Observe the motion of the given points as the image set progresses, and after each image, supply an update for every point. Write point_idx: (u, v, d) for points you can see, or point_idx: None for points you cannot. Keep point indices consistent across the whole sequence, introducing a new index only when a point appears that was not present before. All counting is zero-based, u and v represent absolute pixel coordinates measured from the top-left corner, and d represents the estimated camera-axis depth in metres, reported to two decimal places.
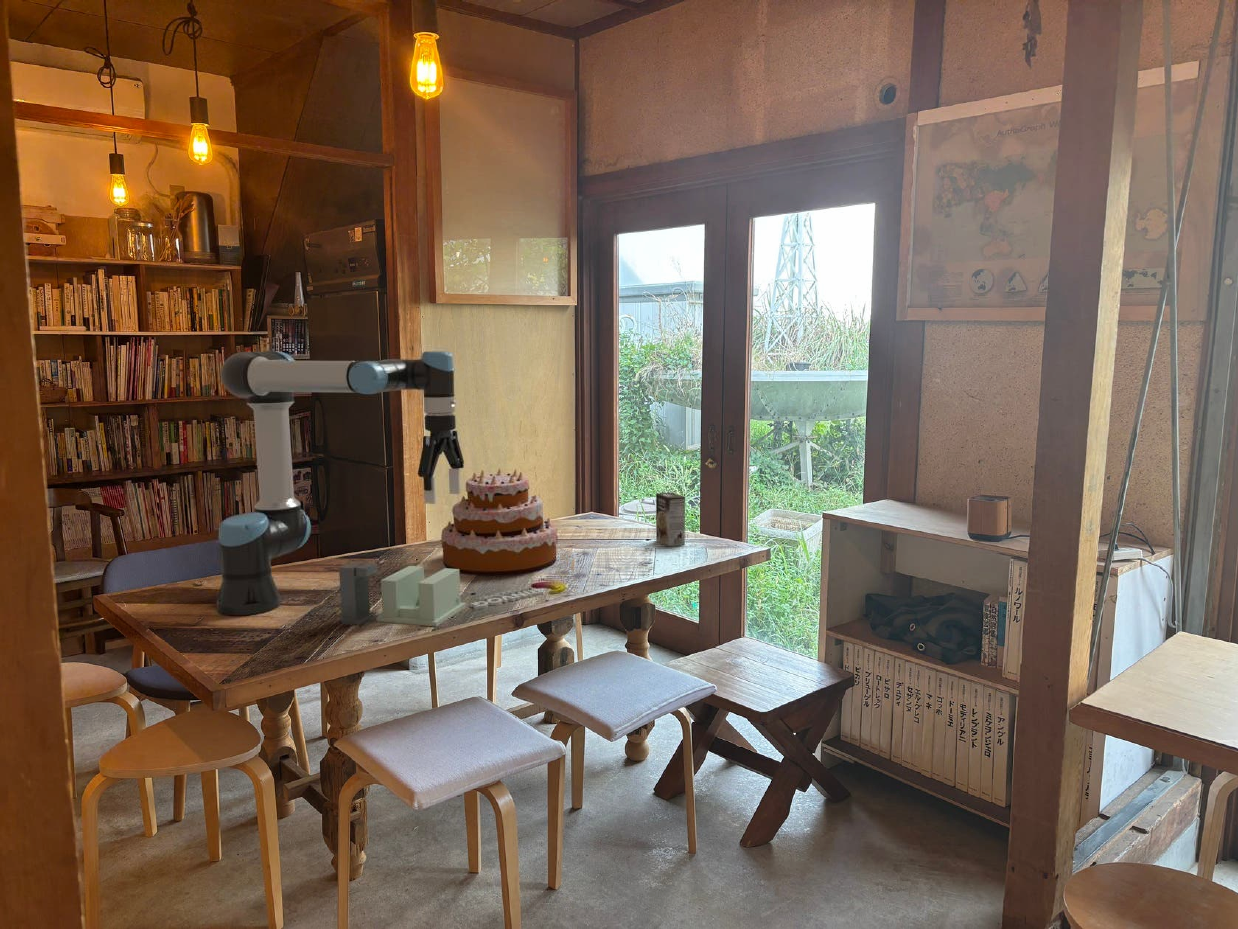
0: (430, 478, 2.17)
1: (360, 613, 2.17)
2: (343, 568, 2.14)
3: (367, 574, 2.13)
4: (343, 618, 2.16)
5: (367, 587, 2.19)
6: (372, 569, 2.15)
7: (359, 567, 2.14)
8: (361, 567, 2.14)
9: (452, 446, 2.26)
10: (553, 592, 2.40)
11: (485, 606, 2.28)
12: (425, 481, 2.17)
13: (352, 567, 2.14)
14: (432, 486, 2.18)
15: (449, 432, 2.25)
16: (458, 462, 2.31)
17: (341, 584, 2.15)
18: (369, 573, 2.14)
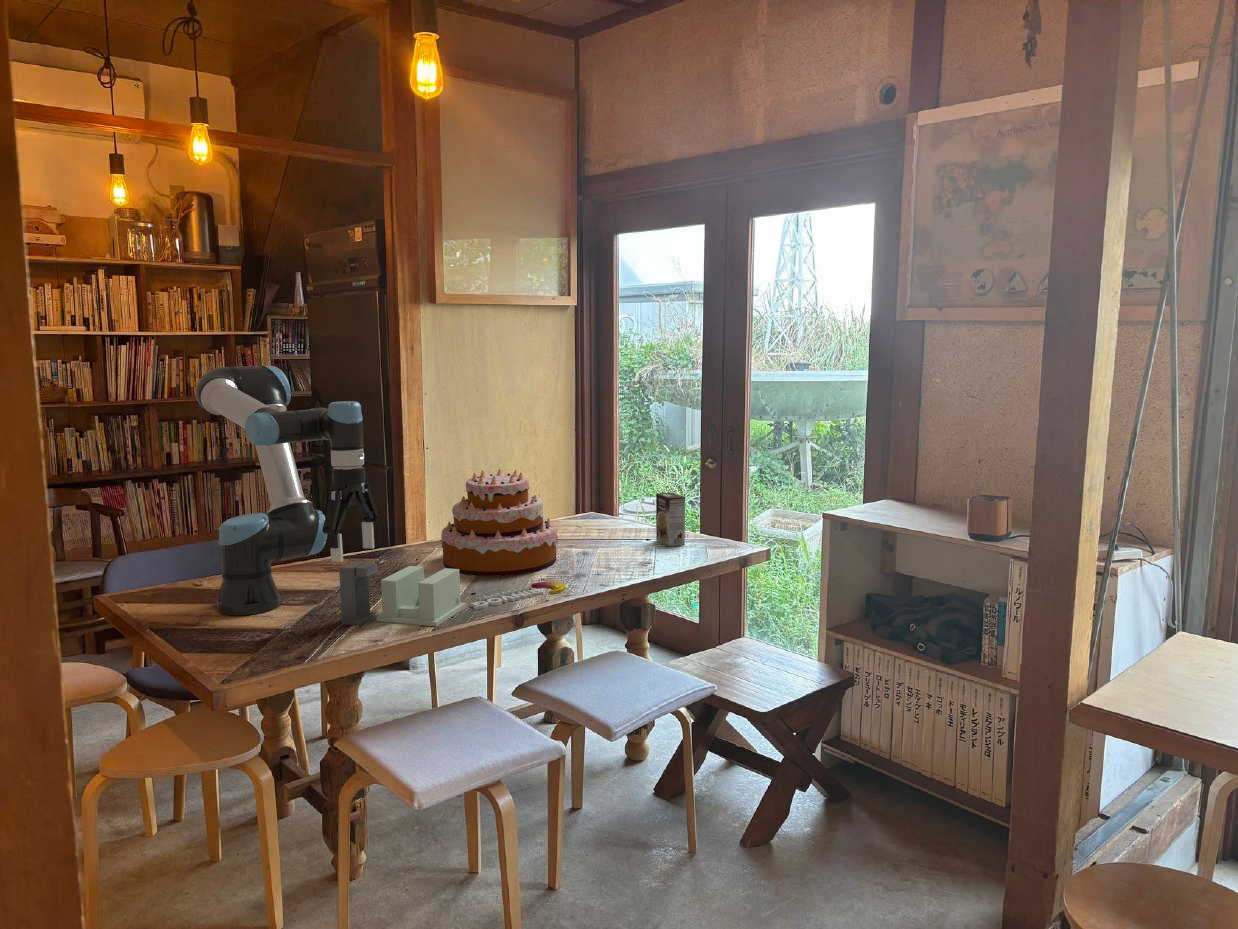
0: (336, 535, 2.08)
1: (360, 613, 2.17)
2: (343, 568, 2.14)
3: (367, 574, 2.14)
4: (343, 618, 2.16)
5: (367, 587, 2.19)
6: (372, 569, 2.15)
7: (359, 567, 2.14)
8: (361, 567, 2.14)
9: (363, 500, 2.17)
10: (553, 592, 2.40)
11: (485, 606, 2.28)
12: (331, 538, 2.07)
13: (352, 567, 2.14)
14: (338, 543, 2.08)
15: (359, 485, 2.16)
16: (371, 515, 2.21)
17: (341, 584, 2.15)
18: (369, 573, 2.14)
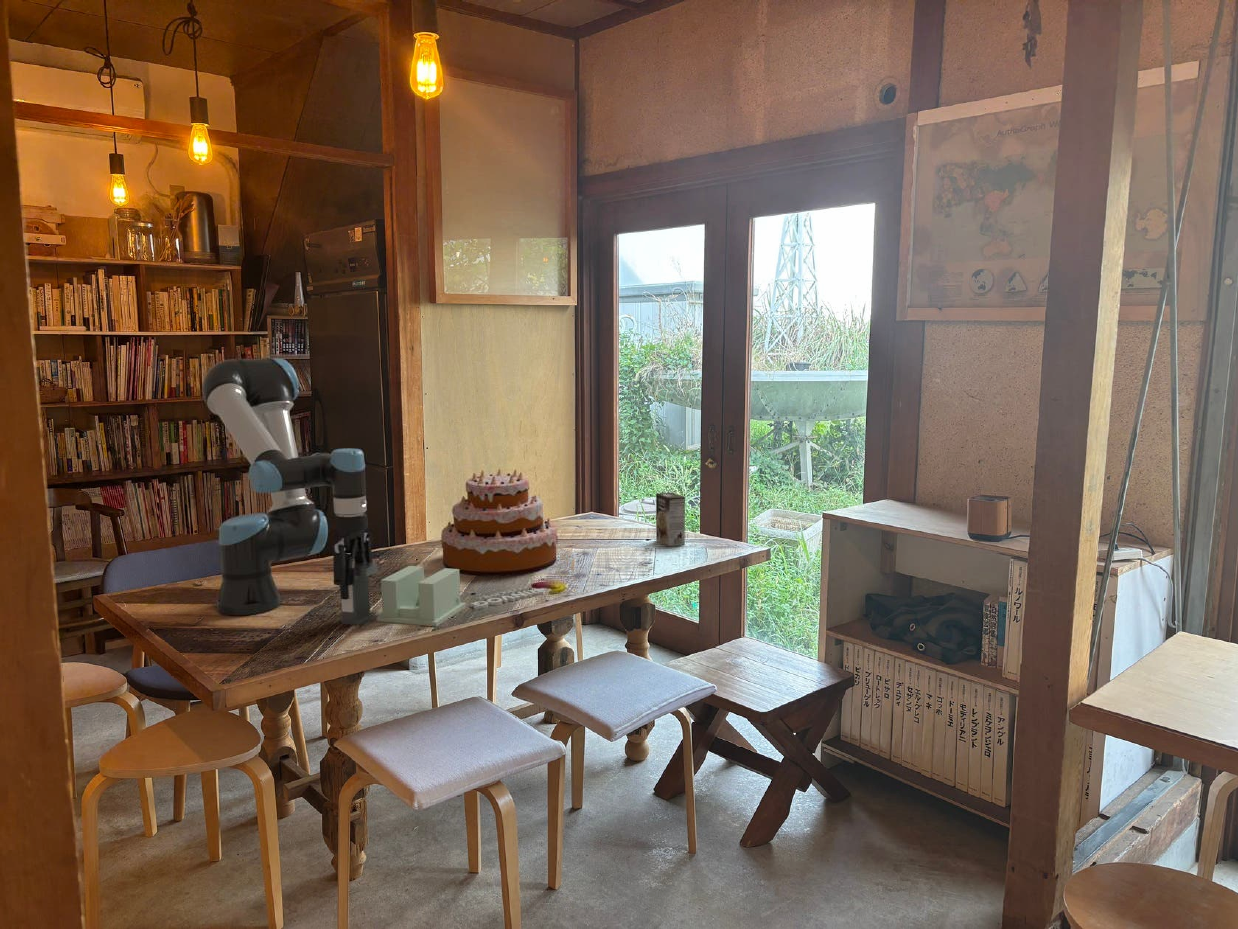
0: (347, 587, 2.13)
1: (360, 613, 2.17)
2: None
3: (367, 574, 2.13)
4: (343, 618, 2.16)
5: (367, 587, 2.19)
6: (372, 569, 2.15)
7: (359, 567, 2.14)
8: (361, 567, 2.14)
9: (363, 548, 2.17)
10: (553, 592, 2.40)
11: (485, 606, 2.28)
12: (342, 590, 2.13)
13: (352, 567, 2.14)
14: (349, 594, 2.14)
15: (362, 530, 2.18)
16: None
17: None
18: (369, 573, 2.14)
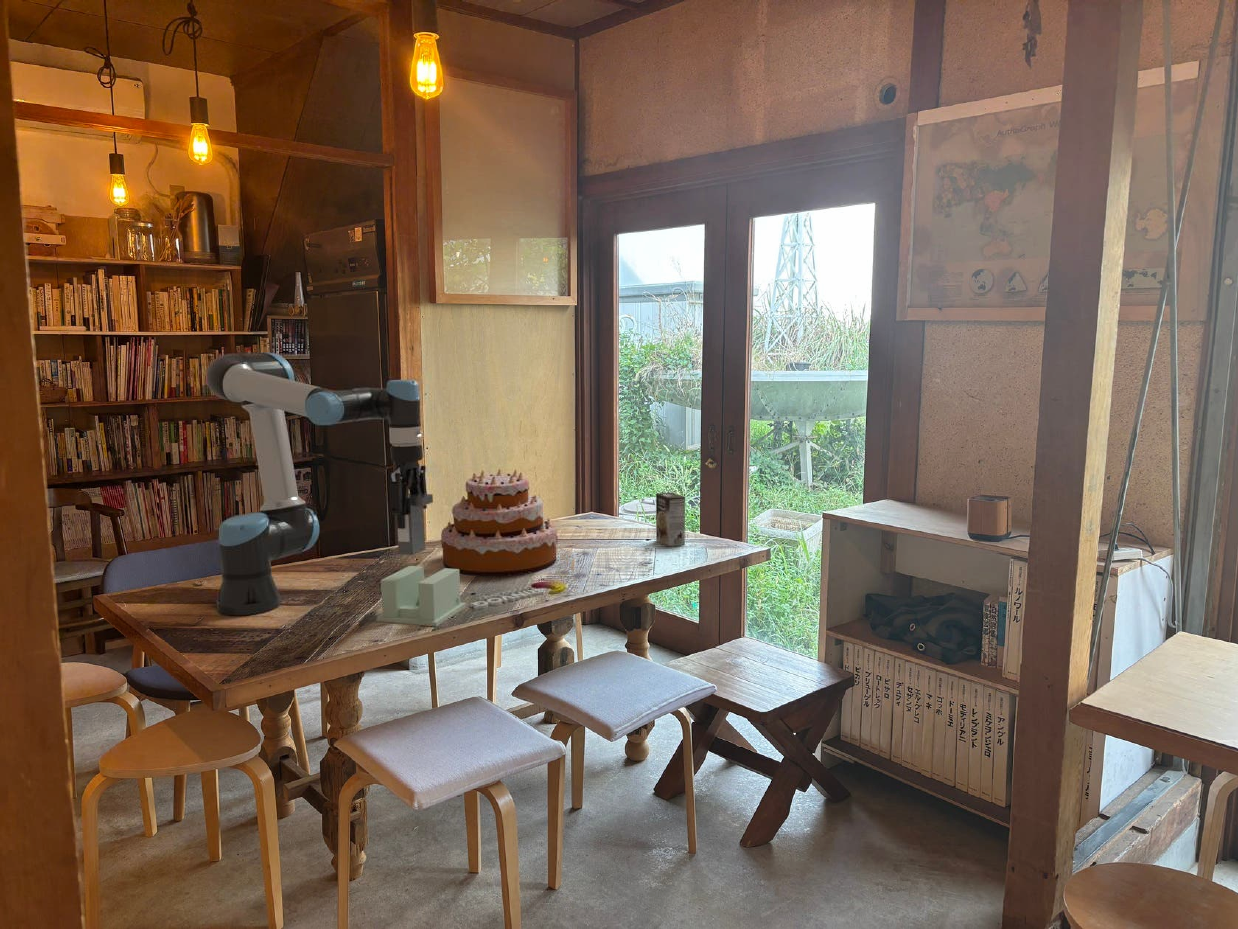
0: (403, 516, 2.15)
1: (416, 543, 2.18)
2: None
3: (423, 503, 2.15)
4: (399, 548, 2.18)
5: (422, 518, 2.21)
6: (427, 499, 2.17)
7: (415, 497, 2.16)
8: (417, 497, 2.16)
9: (418, 479, 2.19)
10: (553, 592, 2.40)
11: (485, 606, 2.28)
12: (398, 519, 2.14)
13: (408, 497, 2.16)
14: (406, 524, 2.15)
15: (417, 462, 2.20)
16: None
17: None
18: (425, 503, 2.16)
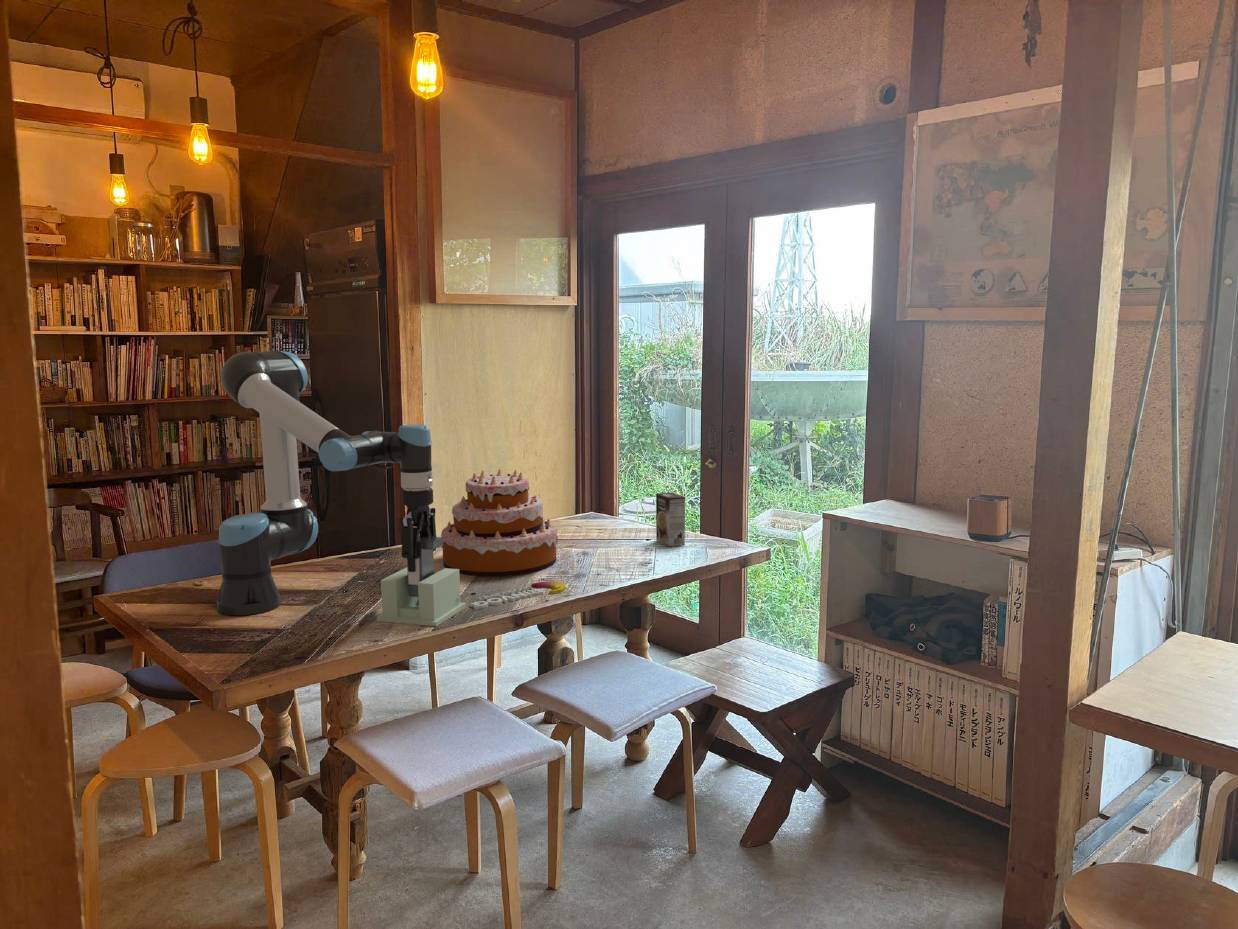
0: (414, 559, 2.17)
1: None
2: None
3: (434, 547, 2.18)
4: (409, 590, 2.20)
5: (432, 560, 2.23)
6: (438, 542, 2.20)
7: (426, 540, 2.18)
8: (428, 540, 2.18)
9: (428, 522, 2.22)
10: (553, 592, 2.40)
11: (485, 606, 2.28)
12: (409, 563, 2.17)
13: (419, 540, 2.18)
14: (416, 567, 2.18)
15: (428, 505, 2.22)
16: None
17: None
18: (436, 546, 2.19)
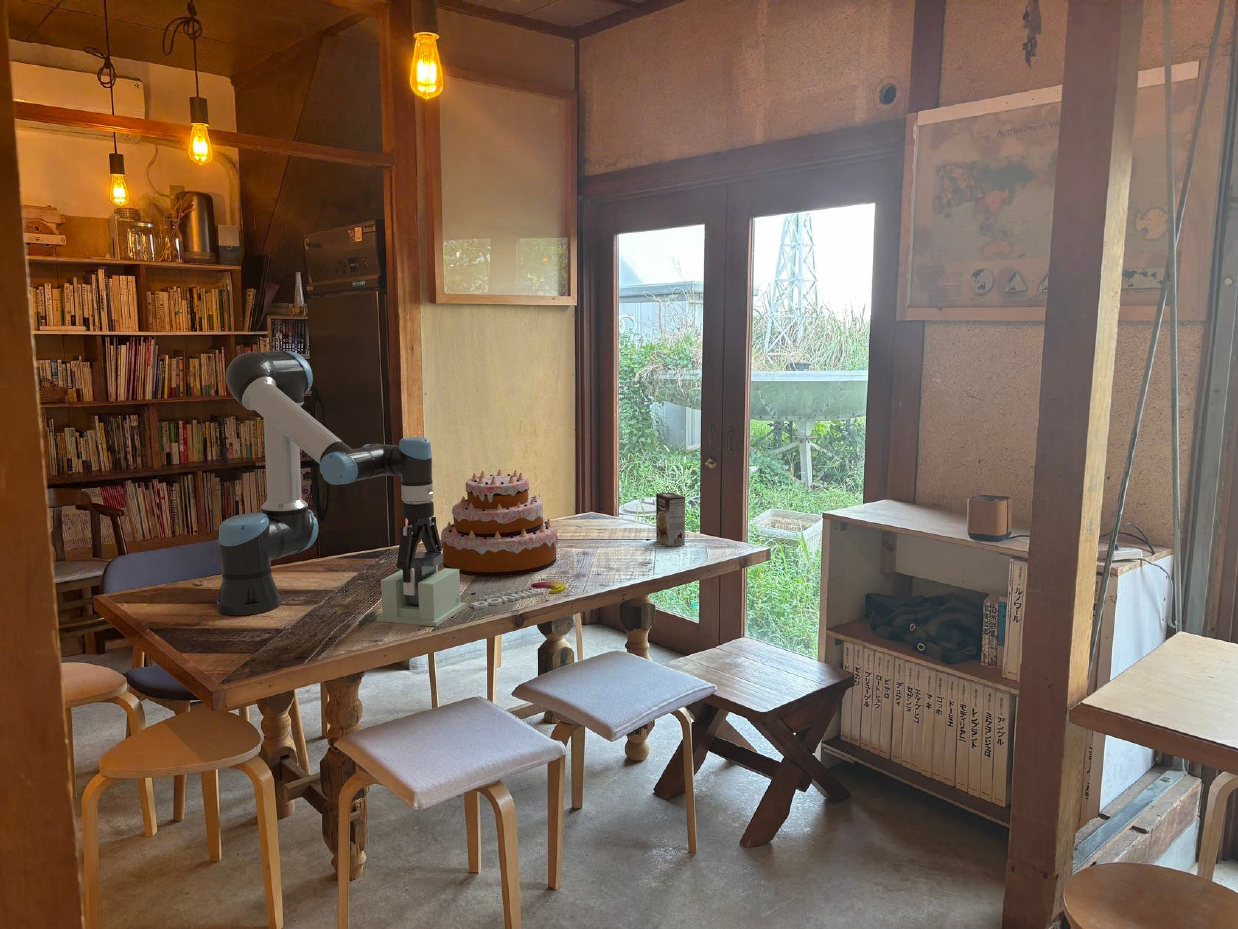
0: (409, 570, 2.15)
1: None
2: None
3: (434, 564, 2.18)
4: None
5: None
6: (438, 559, 2.20)
7: (426, 557, 2.19)
8: (428, 557, 2.19)
9: (430, 533, 2.23)
10: (553, 592, 2.40)
11: (485, 606, 2.28)
12: (404, 573, 2.15)
13: (419, 557, 2.19)
14: (411, 578, 2.16)
15: (428, 518, 2.23)
16: (436, 549, 2.27)
17: None
18: (436, 563, 2.19)
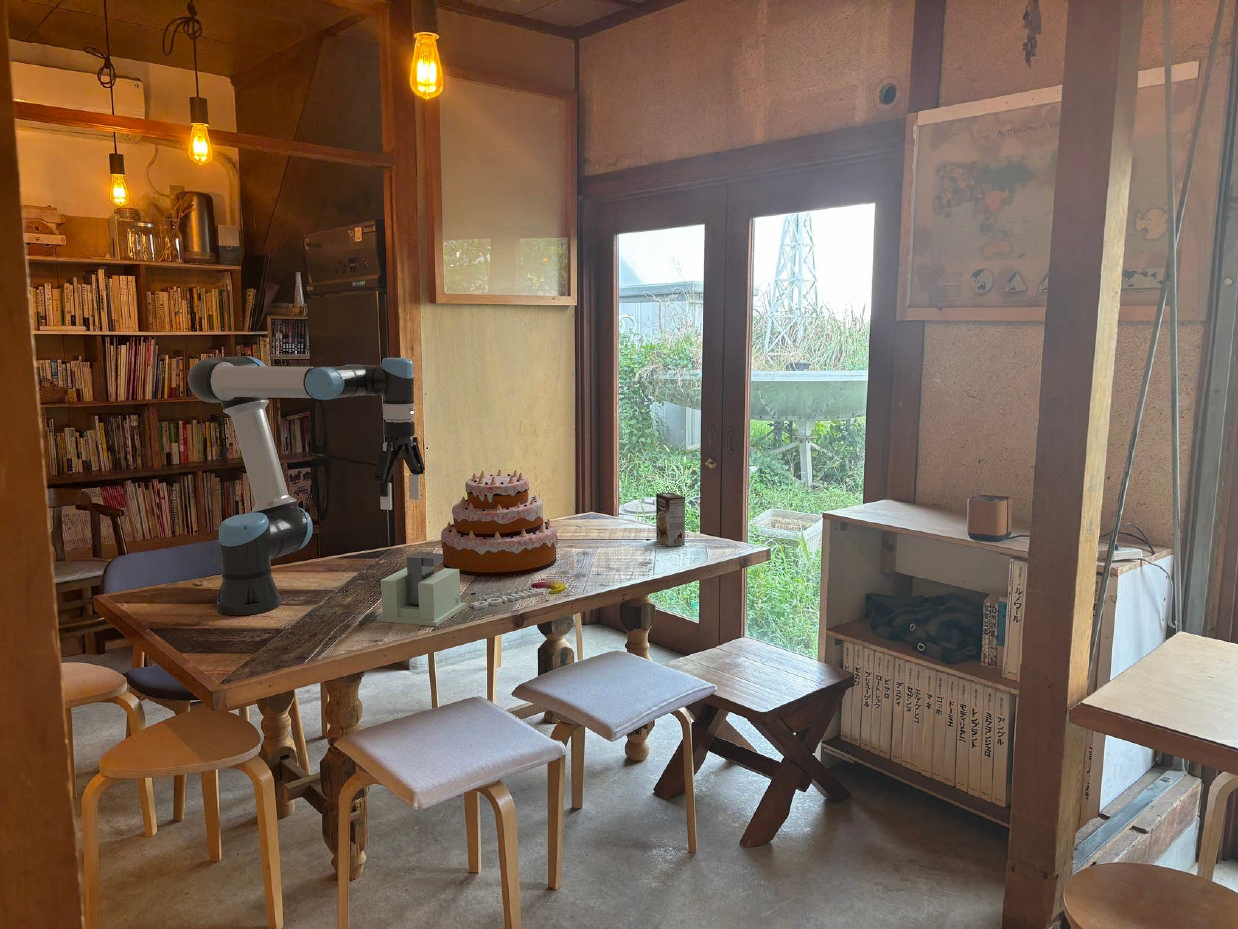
0: (386, 484, 2.19)
1: None
2: (411, 558, 2.19)
3: (434, 564, 2.18)
4: None
5: None
6: (438, 559, 2.20)
7: (426, 557, 2.19)
8: (428, 557, 2.19)
9: (411, 452, 2.27)
10: (553, 592, 2.40)
11: (485, 606, 2.28)
12: (381, 487, 2.18)
13: (419, 557, 2.19)
14: (388, 492, 2.19)
15: (409, 438, 2.27)
16: (418, 468, 2.32)
17: (408, 574, 2.20)
18: (436, 563, 2.19)
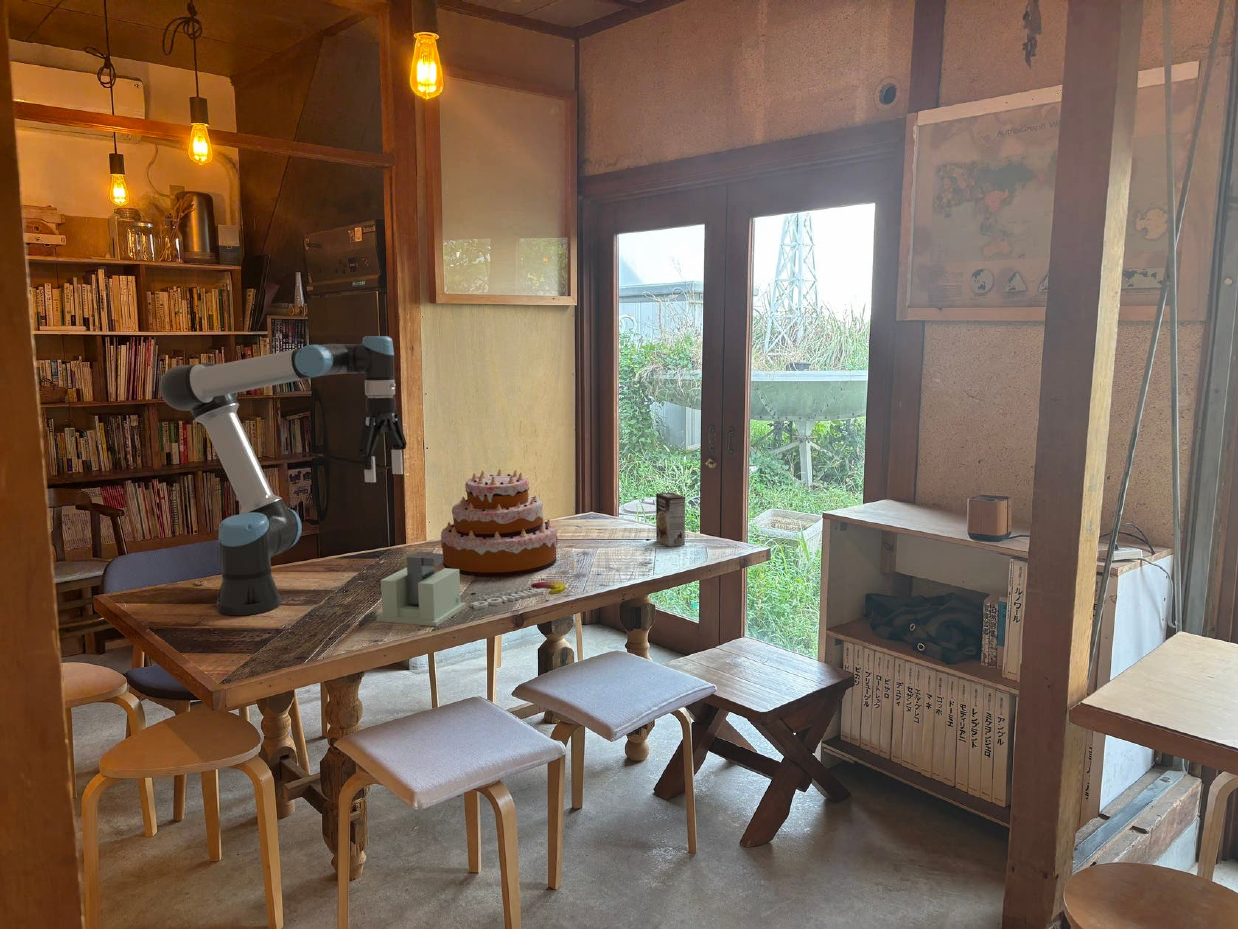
0: (370, 457, 2.27)
1: None
2: (411, 558, 2.19)
3: (434, 564, 2.18)
4: None
5: None
6: (438, 559, 2.20)
7: (426, 557, 2.19)
8: (428, 557, 2.19)
9: (393, 428, 2.35)
10: (553, 592, 2.40)
11: (485, 606, 2.28)
12: (365, 460, 2.26)
13: (419, 557, 2.19)
14: (372, 465, 2.27)
15: (390, 414, 2.35)
16: (400, 443, 2.40)
17: (408, 574, 2.20)
18: (436, 563, 2.19)
